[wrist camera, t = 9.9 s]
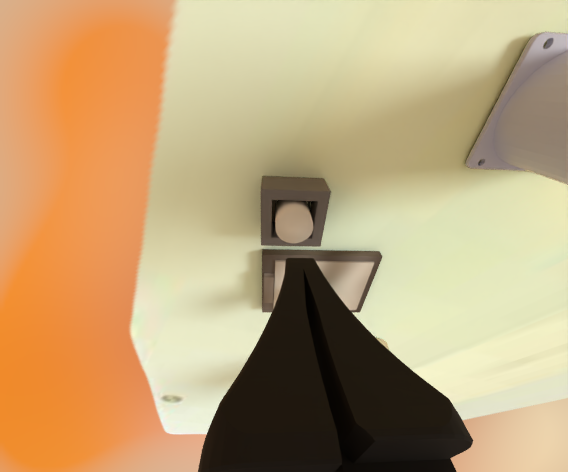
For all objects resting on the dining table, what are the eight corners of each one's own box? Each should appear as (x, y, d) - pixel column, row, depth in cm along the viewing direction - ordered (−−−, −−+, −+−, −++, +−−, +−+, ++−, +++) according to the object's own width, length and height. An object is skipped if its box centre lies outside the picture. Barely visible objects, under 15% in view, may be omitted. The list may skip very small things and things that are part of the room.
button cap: (309, 193, 18) (315, 212, 16) (305, 222, 20) (310, 243, 17) (275, 191, 18) (276, 210, 15) (274, 221, 20) (274, 242, 17)
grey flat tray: (379, 251, 23) (384, 260, 22) (357, 306, 28) (361, 316, 27) (262, 249, 22) (262, 258, 21) (262, 306, 27) (262, 316, 26)
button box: (323, 178, 18) (330, 191, 16) (315, 229, 21) (320, 246, 19) (262, 176, 18) (260, 189, 16) (262, 228, 21) (261, 245, 18)
